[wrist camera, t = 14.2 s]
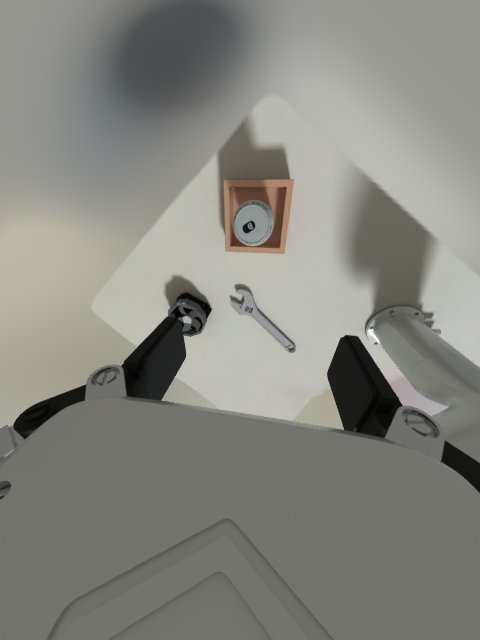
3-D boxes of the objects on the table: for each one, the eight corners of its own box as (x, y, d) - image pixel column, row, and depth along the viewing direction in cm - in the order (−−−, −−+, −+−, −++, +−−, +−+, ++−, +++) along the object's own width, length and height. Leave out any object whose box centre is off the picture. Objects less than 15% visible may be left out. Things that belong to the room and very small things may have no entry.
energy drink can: (277, 224, 39) (281, 234, 26) (252, 240, 41) (243, 255, 28) (264, 194, 36) (261, 188, 24) (238, 212, 38) (222, 216, 26)
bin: (291, 182, 36) (293, 179, 31) (282, 248, 42) (284, 253, 38) (228, 182, 37) (223, 179, 33) (229, 246, 43) (225, 251, 39)
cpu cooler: (195, 342, 53) (162, 325, 51) (201, 331, 57) (171, 315, 56) (210, 316, 47) (173, 296, 46) (216, 305, 52) (182, 287, 51)
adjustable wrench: (297, 346, 56) (298, 350, 55) (279, 355, 59) (279, 359, 57) (244, 284, 48) (243, 286, 46) (226, 297, 51) (225, 300, 49)
